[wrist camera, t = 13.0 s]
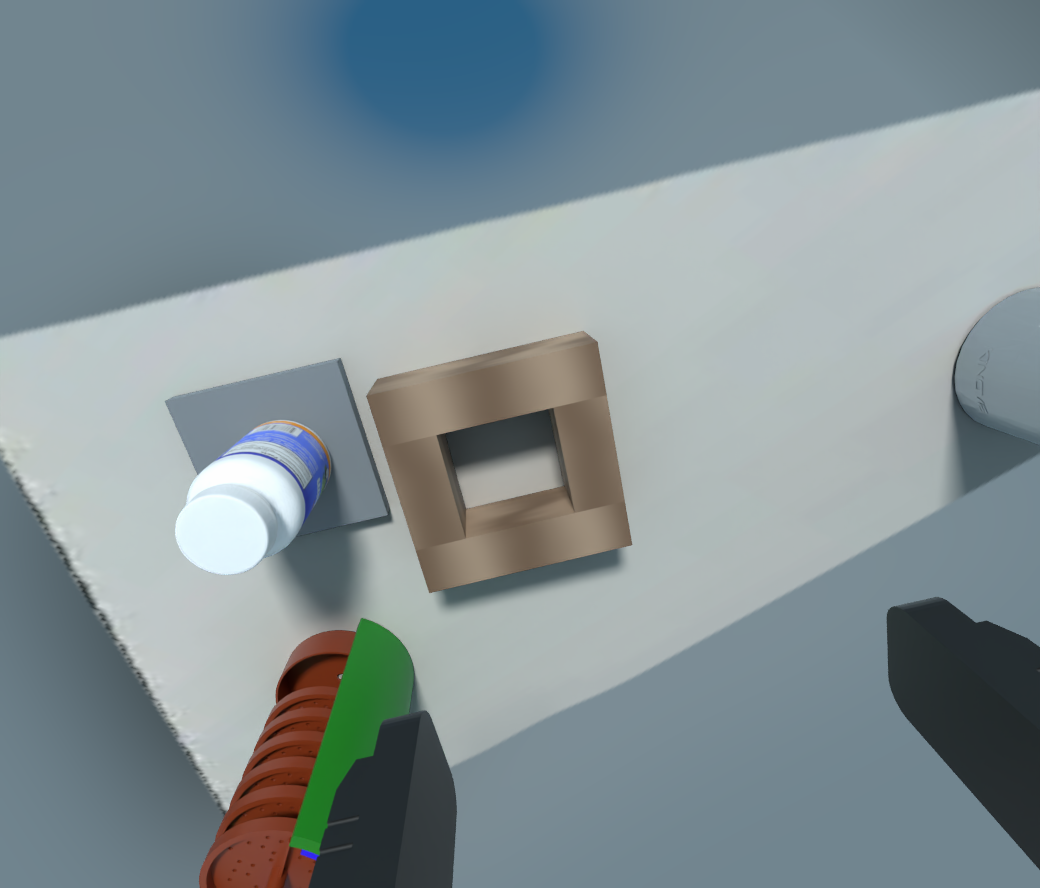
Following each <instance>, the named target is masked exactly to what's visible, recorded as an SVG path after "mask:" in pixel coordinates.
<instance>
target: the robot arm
mask: <svg viewBox="0 0 1040 888" xmlns="http://www.w3.org/2000/svg"><path fill="white" fill-rule="evenodd" d="M955 389H956V393H957V397H958V400H959V403H960V404H961V406H962V407H963V409H964V411H965V412H966V413H967V414H968V415H969V416H970V417H971V418H972V419H974V420H975V421H977V422H979V423H981V424H983V425H985V426H988V427H990V428H993V429H996V430H999V431H1002V432H1004V433H1007V434H1010V435H1013V436H1016V437H1018V438H1021V439H1024V440H1027V441H1030V442H1033V443H1035V444H1038V445H1040V287H1037V288H1033V289H1028V290H1024V291H1021V292H1019V293H1016V294H1014V295H1012V296H1010V297H1007V298H1006V299H1004V300H1003V301H1001V302H1000V303H998V304H997V305H995V306H994V307H993V308H992V309H991V310H989V311H988V312H987V313H986V314H985V315H984V316H983V317H982V318H981V319H980V320H979V322H978V323H977V324H976V325H975V327H974V328H973V329H972V330H971V332H970V333H969V335H968V337H967V339H966V341H965V342H964V344H963V346H962V349H961V351H960V354H959V357H958V360H957V364H956V371H955ZM887 641H888V642H887V644H888V675H889V683H890V687H891V691H892V693H893V695H894V698H895V700H896V702H897V704H898V706H899V708H900V709H901V711H902V712H903V714H904V715H905V717H906V718H907V719H908V720H909V721H910V723H911V724H912V725H913V726H914V727H915V728H916V729H917V731H918V732H919V733H920V734H921V735H922V736H923V737H924V739H925V740H926V741H927V742H928V743H929V744H930V745H931V746H932V748H933V749H934V750H935V751H936V752H937V753H938V754H939V756H940V757H941V758H942V759H943V760H944V761H945V762H946V764H947V765H948V766H949V767H950V768H951V769H952V770H953V772H954V773H955V774H956V775H957V776H958V777H959V778H960V779H961V781H962V782H963V783H964V784H965V785H966V786H967V788H968V789H969V790H970V791H971V792H972V793H973V794H974V796H975V797H976V798H977V799H978V800H979V801H980V802H981V803H982V805H983V806H984V807H985V808H986V809H987V810H988V811H989V813H990V814H991V815H992V816H993V817H994V818H995V819H996V821H997V822H998V823H999V824H1000V825H1001V826H1002V827H1003V829H1004V830H1005V831H1006V832H1007V833H1008V834H1009V835H1010V836H1011V838H1012V839H1013V840H1014V841H1015V842H1016V843H1017V844H1018V846H1019V847H1020V848H1021V849H1022V850H1023V851H1024V852H1025V853H1026V855H1027V856H1028V857H1029V858H1030V859H1031V860H1032V862H1033V863H1034V864H1035V865H1036V866H1037V867H1038V868H1039V870H1040V647H1039V646H1037V645H1036V644H1034V643H1033V642H1032V641H1030V640H1029V639H1028V638H1025V637H1023V636H1021V635H1019V634H1016V633H1014V632H1012V631H1009V630H1007V629H1005V628H1002V627H1000V626H998V625H995V624H993V623H991V622H989V621H983V622H978V623H975V622H974V621H973V620H972V619H970V618H969V617H968V616H966V615H965V614H963V612H961V611H960V610H959V609H957V608H956V607H955V606H953V605H952V604H951V603H949V602H948V601H947V600H945V599H943V598H939V597H934V598H930V599H926V600H921V601H916V602H913V603H907V604H903V605H899V606H894V607H891V608H890V609H889V610H888V613H887ZM456 815H457V806H456V795H455V788H454V782H453V778H452V774H451V771H450V768H449V765H448V763H447V760H446V757H445V755H444V752H443V749H442V746H441V744H440V741H439V738H438V735H437V733H436V730H435V727H434V724H433V722H432V719H431V717H430V715H429V713H428V712H427V711H420V712H416V713H411V714H407V715H403V716H398V717H394V718H389V719H385V720H383V722H382V723H381V725H380V729H379V733H378V737H377V741H376V746H375V750H374V754H373V756H370V757H365V758H361V759H356V760H355V762H354V763H353V765H352V766H351V768H350V769H349V771H348V773H347V774H346V776H345V777H344V779H343V780H342V782H341V783H340V785H339V786H338V788H337V789H336V792H335V796H334V799H333V803H332V806H331V810H330V813H329V817H328V820H327V824H328V827H327V828H326V829H325V831H324V834H323V838H322V841H321V845H320V848H319V851H320V855H319V856H318V857H317V859H316V862H315V866H314V869H313V873H312V876H311V880H310V883H309V887H308V888H452V880H453V864H454V847H455V832H456Z"/></svg>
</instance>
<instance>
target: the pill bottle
mask: <svg viewBox="0 0 1040 888" xmlns="http://www.w3.org/2000/svg"><path fill="white" fill-rule="evenodd" d="M330 474H331V458H330V454H329V451H328V449H327V447H326V445H325V444H324V442H323V441H322V439H321V438H320V437H319V436H318V435H317V434H316V433H315V432H314V431H313V430H311V429H310V428H308V427H306V426H304V425H302V424H300V423H297V422H294V421H289V420H275V421H270V422H266V423H263V424H261V425H259V426H257V427H256V428H254V429H253V430H251V431H250V432H249V433H248V434H247V435H245V436H244V437H243V438H242V439H241V440H240V441H238V442H237V443H236V444H235V445H233V446H232V447H231V448H230V449H229V450H227V451H226V452H225V453H224V454H222V455H221V456H220V457H219V458H217V459H216V460H215V461H214V462H212V463H211V464H210V465H209V466H207V467H206V468H205V469H204V470H203V471H202V472H201V473H200V474H199V475H198V476H197V477H196V478H195V480H194V481H193V483H192V485H191V487H190V489H189V492H188V496H187V503H186V506H185V507H184V508H183V510H182V511H181V512H180V514H179V516H178V518H177V521H176V526H175V535H176V540H177V543H178V546H179V548H180V550H181V551H182V553H183V554H184V555H185V557H186V558H187V559H188V560H189V561H191V562H192V563H193V564H194V565H196V566H197V567H199V568H201V569H203V570H205V571H208V572H211V573H215V574H221V575H234V574H239V573H243V572H246V571H248V570H250V569H252V568H253V567H255V566H256V565H257V564H258V563H259V562H260V561H261V560H262V559H263V558H266V557H269V556H272V555H274V554H276V553H278V552H280V551H281V550H283V549H284V548H285V547H287V546H288V545H289V544H290V543H291V542H292V540H293V539H294V538H295V537H296V535H297V534H298V532H299V530H300V529H301V527H302V525H303V524H304V522H305V520H306V519H307V517H308V515H309V514H310V512H311V510H312V509H313V507H314V505H315V504H316V502H317V501H318V499H319V497H320V495H321V494H322V492H323V491H324V489H325V487H326V485H327V483H328V480H329V478H330Z"/></svg>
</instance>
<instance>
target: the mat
mask: <svg viewBox="0 0 1040 888" xmlns="http://www.w3.org/2000/svg"><path fill="white" fill-rule="evenodd" d="M165 403H166V405H167V407H168V409H169V412H170V414H171V416H172V418H173V421H174V423H175V425H176V427H177V430H178V432H179V434H180V436H181V439H182V441H183V443H184V445H185V448H186V450H187V452H188V454H189V457H190V459H191V461H192V463H193V466H194V468H195V470H196V472H197V475H199V474H200V473H201V472H202V471H203V470H204V469H205V468H206V467H207V466H209V465H210V464H211V463H212V462H214V461H215V460H216V459H217V458H219V457H220V456H221V455H222V454H224V453H225V452H226V451H227V450H229V449H230V448H231V447H232V446H233V445H235V444H236V443H237V442H238V441H240V440H241V439H242V438H243V437H244V436H245V435H247V434H248V433H249V432H250V431H251V430H253V429H254V428H256V427H257V426H259V425H261V424H263V423H266V422H270V421H275V420H289V421H294V422H297V423H300V424H302V425H304V426H306V427H308V428H310V429H311V430H313V431H314V432H315V433H316V434H317V435H318V436H319V437H320V438H321V439H322V441H323V442H324V444H325V445H326V447H327V449H328V451H329V454H330V458H331V474H330V478H329V480H328V483H327V485H326V487H325V489H324V491H323V492H322V494H321V495H320V497H319V499H318V501H317V502H316V504H315V505H314V507H313V509H312V510H311V512H310V514H309V515H308V517H307V519H306V520H305V522H304V524H303V525H302V527H301V529H300V530H299V532H298V534H297V535H296V537H297V536H301V535H305V534H310V533H314V532H318V531H322V530H327V529H331V528H335V527H339V526H344V525H348V524H352V523H356V522H361V521H365V520H369V519H373V518H378V517H382V516H386V515H388V513H389V509H390V507H389V504H388V501H387V498H386V495H385V492H384V489H383V486H382V483H381V480H380V477H379V474H378V471H377V468H376V465H375V462H374V459H373V456H372V452H371V449H370V446H369V443H368V440H367V437H366V434H365V431H364V428H363V425H362V422H361V419H360V416H359V413H358V410H357V407H356V404H355V401H354V398H353V395H352V391H351V388H350V385H349V382H348V379H347V376H346V373H345V370H344V367H343V364H342V361H341V358H338V359H334V360H330V361H325V362H321V363H317V364H312V365H308V366H304V367H300V368H295V369H291V370H287V371H282V372H278V373H274V374H270V375H265V376H261V377H257V378H252V379H248V380H244V381H239V382H235V383H231V384H227V385H222V386H218V387H214V388H209V389H205V390H201V391H197V392H192V393H188V394H184V395H179V396H175V397H172V398H170V399H168V400H166V401H165Z"/></svg>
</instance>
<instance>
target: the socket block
mask: <svg viewBox="0 0 1040 888" xmlns="http://www.w3.org/2000/svg"><path fill="white" fill-rule="evenodd" d="M367 399H368V403H369V406H370V409H371V412H372V415H373V418H374V421H375V424H376V428H377V431H378V434H379V437H380V440H381V443H382V446H383V450H384V453H385V456H386V459H387V462H388V465H389V468H390V471H391V475H392V478H393V481H394V484H395V487H396V490H397V493H398V496H399V500H400V503H401V506H402V509H403V512H404V515H405V518H406V521H407V525H408V528H409V531H410V534H411V537H412V540H413V543H414V546H415V550H416V553H417V556H418V559H419V562H420V565H421V568H422V571H423V575H424V578H425V581H426V584H427V587H428V590H429V593H432V592H436V591H440V590H444V589H448V588H453V587H457V586H461V585H465V584H470V583H474V582H478V581H482V580H487V579H491V578H495V577H499V576H503V575H508V574H512V573H516V572H520V571H525V570H529V569H533V568H537V567H542V566H546V565H550V564H554V563H558V562H563V561H567V560H571V559H575V558H580V557H584V556H588V555H592V554H597V553H601V552H605V551H609V550H613V549H618V548H622V547H626V546H630V545H632V541H631V535H630V529H629V523H628V518H627V512H626V506H625V500H624V494H623V488H622V483H621V477H620V471H619V465H618V459H617V453H616V448H615V442H614V436H613V430H612V424H611V418H610V412H609V407H608V401H607V395H606V389H605V383H604V377H603V372H602V366H601V360H600V354H599V348H598V342H597V341H596V340H594V339H593V338H592V337H590V336H589V335H588V334H586V333H585V332H584V331H581V332H577V333H573V334H569V335H564V336H560V337H556V338H551V339H547V340H543V341H539V342H534V343H530V344H526V345H521V346H517V347H513V348H509V349H504V350H500V351H496V352H491V353H487V354H483V355H479V356H474V357H470V358H466V359H461V360H457V361H453V362H449V363H444V364H440V365H436V366H431V367H427V368H423V369H419V370H414V371H410V372H406V373H401V374H397V375H393V376H389V377H384V378H380V379H377V381H376V382H375V384H374V385H373V387H372V388H371V390H370V391H369V393H368V394H367ZM546 409H548V410H549V415H550V419H551V424H552V429H553V434H554V439H555V443H556V448H557V453H558V458H559V462H560V467H561V472H562V477H563V482H564V486H562V487H558V488H554V489H550V490H546V491H541V492H537V493H533V494H529V495H524V496H520V497H516V498H512V499H507V500H503V501H499V502H495V503H490V504H486V505H482V506H478V507H473V508H469V509H466V508H465V504H464V501H463V497H462V493H461V490H460V486H459V483H458V479H457V475H456V472H455V468H454V465H453V461H452V457H451V454H450V450H449V447H448V443H447V439H446V436H445V433H447V432H452V431H456V430H460V429H465V428H469V427H473V426H477V425H482V424H486V423H490V422H494V421H499V420H503V419H507V418H512V417H516V416H520V415H524V414H529V413H533V412H537V411H541V410H546Z"/></svg>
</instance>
